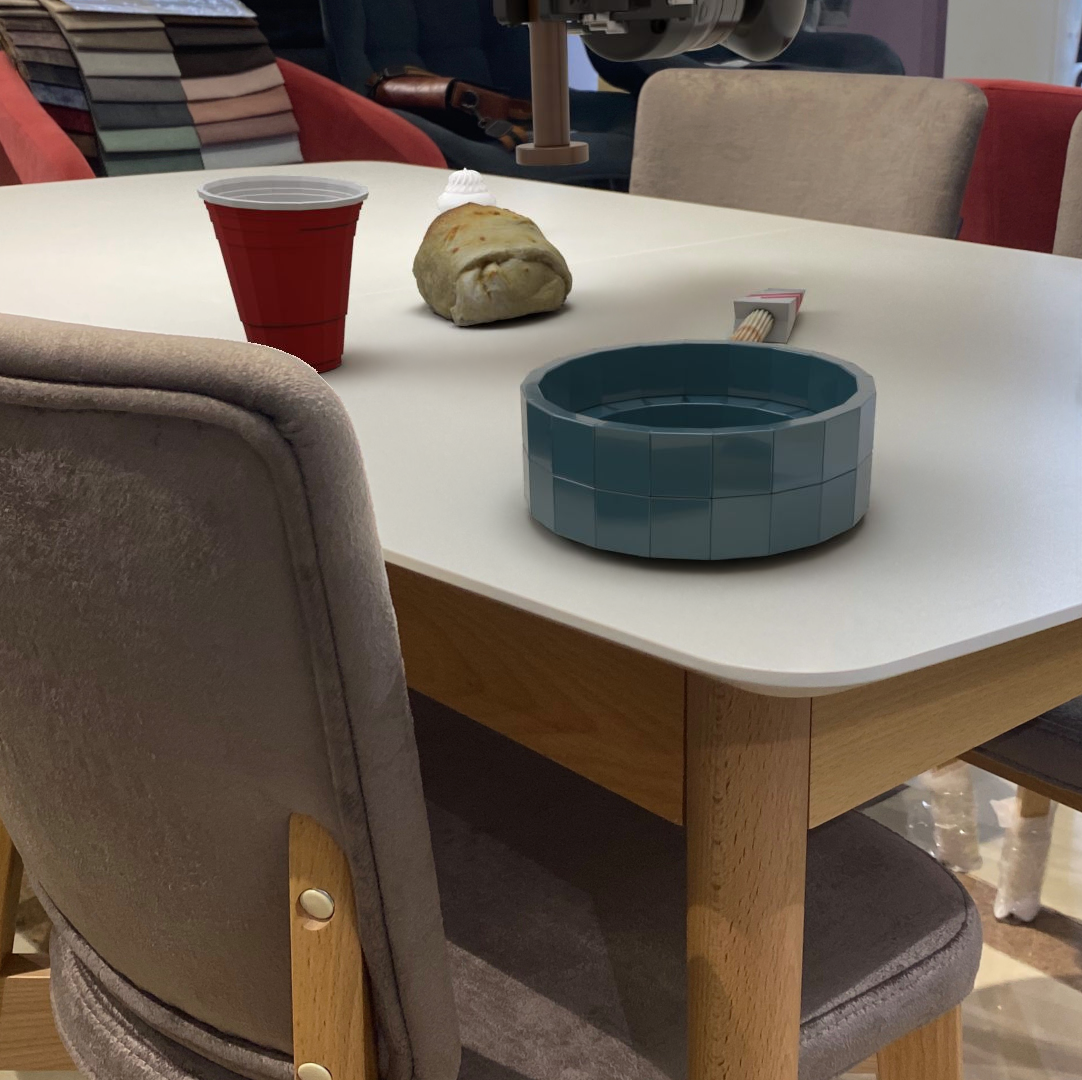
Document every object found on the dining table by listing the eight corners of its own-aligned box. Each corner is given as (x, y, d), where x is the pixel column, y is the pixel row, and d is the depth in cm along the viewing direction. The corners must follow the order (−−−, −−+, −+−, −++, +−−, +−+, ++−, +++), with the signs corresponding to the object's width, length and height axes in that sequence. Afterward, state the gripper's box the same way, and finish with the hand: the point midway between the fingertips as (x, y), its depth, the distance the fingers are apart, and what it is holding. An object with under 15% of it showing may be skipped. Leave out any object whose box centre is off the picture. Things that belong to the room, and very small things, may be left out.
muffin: (510, 237, 134) (507, 166, 131) (461, 244, 130) (457, 172, 128) (475, 230, 138) (471, 162, 136) (427, 238, 135) (422, 168, 132)
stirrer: (601, 158, 80) (595, -134, 74) (567, 166, 76) (558, -140, 70) (538, 157, 82) (527, -127, 76) (503, 165, 78) (488, -133, 72)
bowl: (905, 476, 63) (914, 356, 61) (804, 599, 51) (811, 453, 48) (615, 438, 70) (613, 329, 68) (463, 537, 58) (455, 407, 55)
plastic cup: (325, 394, 80) (305, 195, 76) (185, 379, 85) (159, 190, 80) (412, 352, 89) (400, 173, 85) (283, 341, 94) (264, 169, 89)
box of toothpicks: (814, 270, 96) (755, 346, 79) (813, 306, 97) (754, 389, 80) (763, 267, 97) (693, 342, 80) (762, 304, 98) (693, 384, 81)
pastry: (459, 287, 110) (454, 190, 107) (598, 294, 106) (596, 193, 103) (378, 323, 98) (370, 215, 95) (530, 333, 94) (526, 220, 91)
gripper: (555, -56, 89) (414, -64, 75) (748, -69, 82) (633, -81, 68) (559, 61, 92) (423, 74, 78) (746, 56, 85) (635, 70, 71)
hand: (522, 1), depth 73 cm, fingers closed on stirrer, 2 cm apart
